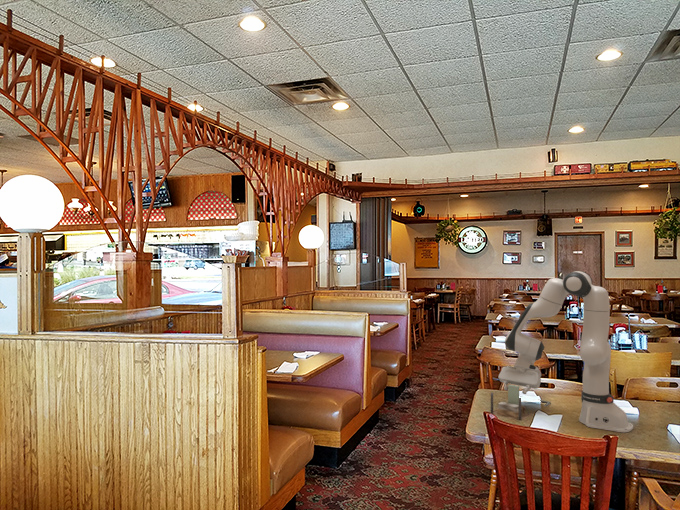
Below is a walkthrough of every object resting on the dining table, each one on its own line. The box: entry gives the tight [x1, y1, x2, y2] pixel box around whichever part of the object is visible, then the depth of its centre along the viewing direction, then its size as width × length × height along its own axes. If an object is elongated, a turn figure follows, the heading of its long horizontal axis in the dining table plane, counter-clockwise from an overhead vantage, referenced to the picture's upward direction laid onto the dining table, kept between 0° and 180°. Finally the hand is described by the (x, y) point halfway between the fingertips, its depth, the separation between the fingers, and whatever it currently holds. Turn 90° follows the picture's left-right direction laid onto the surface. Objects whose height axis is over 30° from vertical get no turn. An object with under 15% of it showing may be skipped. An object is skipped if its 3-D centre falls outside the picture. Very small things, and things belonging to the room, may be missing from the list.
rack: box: [490, 392, 532, 421], centre depth 251 cm, size 16×12×12 cm
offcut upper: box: [497, 401, 519, 412], centre depth 250 cm, size 9×4×2 cm, turn 48°
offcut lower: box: [496, 407, 519, 418], centre depth 250 cm, size 10×5×2 cm, turn 48°
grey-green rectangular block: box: [507, 384, 520, 405], centre depth 254 cm, size 5×2×13 cm, turn 48°
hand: (514, 391), depth 255 cm, fingers open, 8 cm apart
